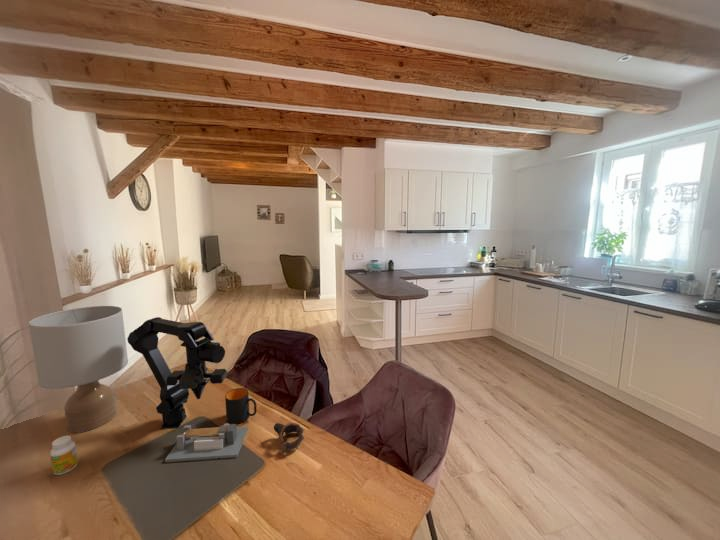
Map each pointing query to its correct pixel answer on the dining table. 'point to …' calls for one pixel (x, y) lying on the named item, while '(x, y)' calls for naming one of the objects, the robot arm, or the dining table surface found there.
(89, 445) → the dining table surface
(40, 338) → the lamp
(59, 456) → the supplement bottle
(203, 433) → the strap
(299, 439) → the vr controller
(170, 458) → the board
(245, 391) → the mug
